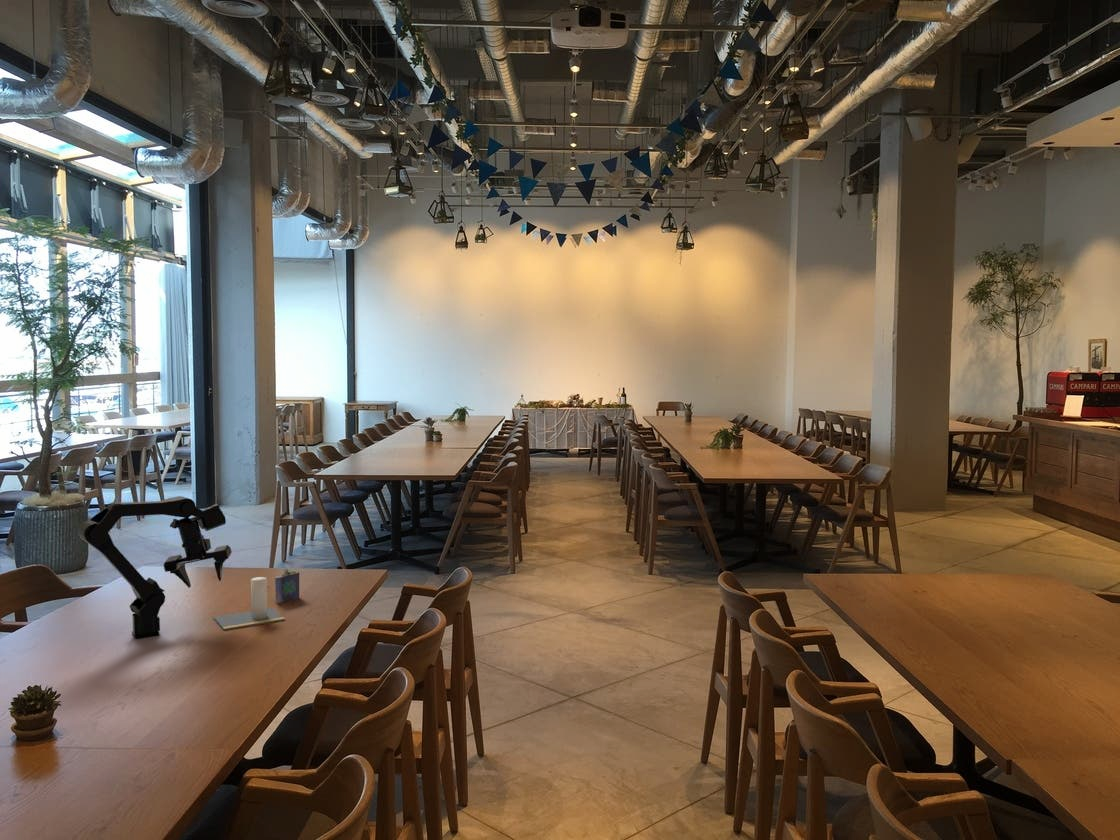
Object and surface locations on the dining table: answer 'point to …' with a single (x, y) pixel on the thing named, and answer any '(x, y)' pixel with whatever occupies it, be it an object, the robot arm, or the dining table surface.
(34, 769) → the dining table surface
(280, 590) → the flask
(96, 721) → the dining table surface
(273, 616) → the mat
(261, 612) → the skittle
